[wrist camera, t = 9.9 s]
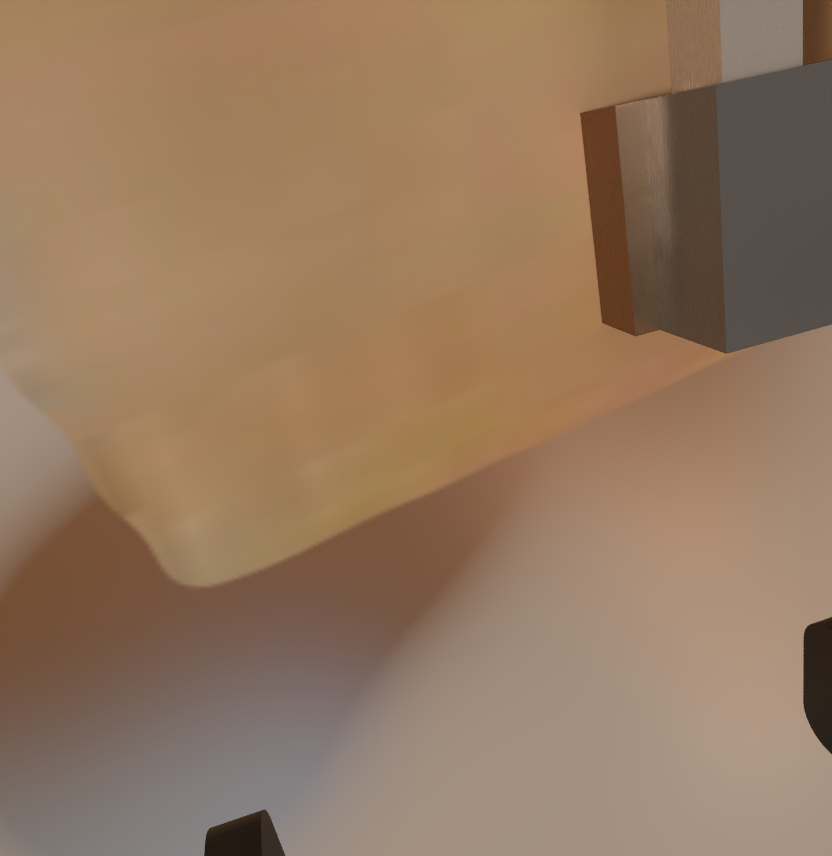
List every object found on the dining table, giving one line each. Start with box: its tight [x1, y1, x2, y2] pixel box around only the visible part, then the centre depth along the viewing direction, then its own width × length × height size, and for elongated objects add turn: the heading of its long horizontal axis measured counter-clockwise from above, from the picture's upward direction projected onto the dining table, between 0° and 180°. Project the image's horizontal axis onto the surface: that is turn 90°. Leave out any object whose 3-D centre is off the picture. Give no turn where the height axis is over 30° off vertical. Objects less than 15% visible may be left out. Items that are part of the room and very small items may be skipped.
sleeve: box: [580, 59, 832, 354], centre depth 37 cm, size 12×9×10 cm
